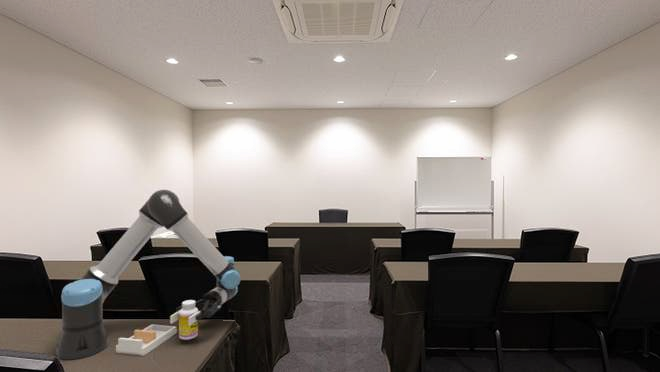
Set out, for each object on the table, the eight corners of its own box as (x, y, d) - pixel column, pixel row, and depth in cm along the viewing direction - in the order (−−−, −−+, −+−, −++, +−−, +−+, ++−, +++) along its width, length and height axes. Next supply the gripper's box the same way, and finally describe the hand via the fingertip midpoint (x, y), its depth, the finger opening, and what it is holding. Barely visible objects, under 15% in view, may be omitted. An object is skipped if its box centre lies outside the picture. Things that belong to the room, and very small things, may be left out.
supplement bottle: (191, 341, 126) (191, 306, 126) (174, 339, 127) (175, 304, 127) (201, 333, 132) (201, 299, 132) (186, 331, 134) (186, 298, 134)
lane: (115, 352, 121) (115, 338, 121) (152, 330, 139) (152, 318, 139) (143, 355, 119) (143, 341, 119) (176, 332, 136) (176, 320, 136)
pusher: (134, 341, 128) (134, 330, 128) (136, 340, 129) (136, 329, 129) (154, 343, 126) (154, 332, 126) (156, 342, 127) (156, 331, 127)
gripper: (235, 309, 145) (204, 333, 123) (193, 306, 149) (156, 328, 127) (235, 292, 145) (204, 312, 123) (193, 288, 149) (156, 308, 127)
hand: (180, 320), depth 125 cm, fingers closed on supplement bottle, 7 cm apart
